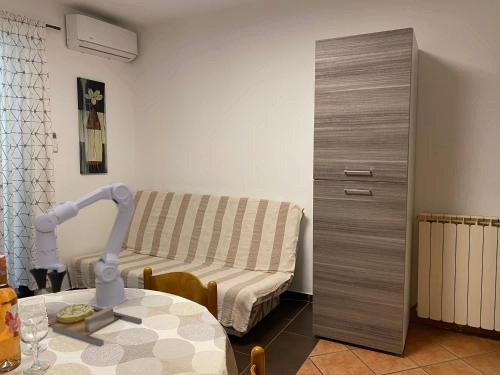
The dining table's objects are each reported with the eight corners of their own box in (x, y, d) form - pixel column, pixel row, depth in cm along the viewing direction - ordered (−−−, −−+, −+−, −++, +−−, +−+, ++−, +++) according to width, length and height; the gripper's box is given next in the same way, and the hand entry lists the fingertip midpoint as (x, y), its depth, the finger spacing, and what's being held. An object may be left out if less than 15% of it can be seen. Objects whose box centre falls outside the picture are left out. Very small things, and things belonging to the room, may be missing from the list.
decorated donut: (93, 310, 127) (93, 299, 127) (91, 323, 117) (90, 312, 117) (60, 314, 124) (59, 304, 124) (54, 328, 114) (54, 317, 114)
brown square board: (45, 325, 116) (44, 311, 116) (81, 309, 128) (80, 296, 127) (84, 337, 108) (83, 322, 107) (118, 319, 119) (118, 305, 119)
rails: (96, 311, 126) (96, 307, 126) (142, 323, 117) (141, 318, 116) (52, 331, 112) (52, 327, 112) (100, 347, 102) (100, 342, 102)
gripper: (20, 250, 120) (24, 291, 121) (48, 255, 113) (51, 298, 114) (41, 245, 126) (44, 284, 127) (69, 249, 119) (72, 290, 120)
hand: (49, 290), depth 121 cm, fingers open, 7 cm apart
